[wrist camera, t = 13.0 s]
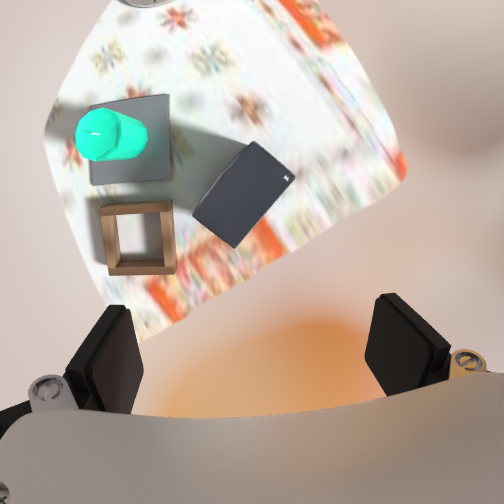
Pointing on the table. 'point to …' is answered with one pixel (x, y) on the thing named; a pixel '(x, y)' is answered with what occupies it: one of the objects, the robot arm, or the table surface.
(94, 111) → the candle
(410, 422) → the robot arm
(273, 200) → the small box
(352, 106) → the table surface
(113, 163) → the slate mat
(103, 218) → the holder
